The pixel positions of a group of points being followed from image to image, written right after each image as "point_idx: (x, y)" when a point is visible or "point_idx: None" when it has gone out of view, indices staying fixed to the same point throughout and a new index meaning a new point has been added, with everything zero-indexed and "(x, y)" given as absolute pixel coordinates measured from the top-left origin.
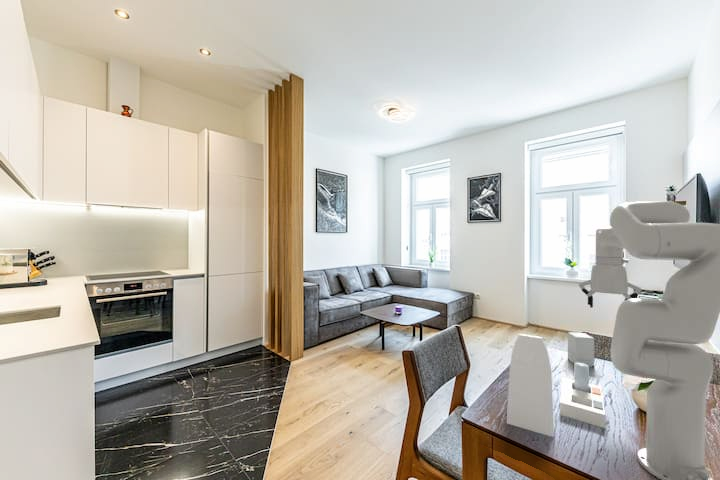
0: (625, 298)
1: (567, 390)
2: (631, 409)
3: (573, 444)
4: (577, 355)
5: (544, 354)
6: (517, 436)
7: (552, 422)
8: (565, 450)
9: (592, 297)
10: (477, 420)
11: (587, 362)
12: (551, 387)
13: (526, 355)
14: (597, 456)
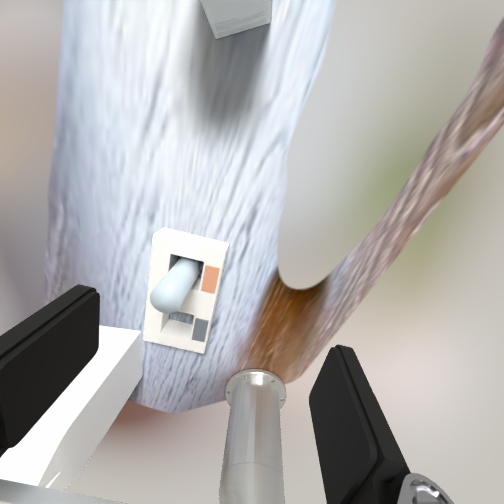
0: (375, 493)
1: None
2: (270, 268)
3: (163, 380)
4: (213, 18)
5: None
6: None
7: (131, 392)
8: (154, 392)
9: (7, 448)
10: None
11: (249, 22)
12: (97, 444)
13: None
14: (185, 391)
